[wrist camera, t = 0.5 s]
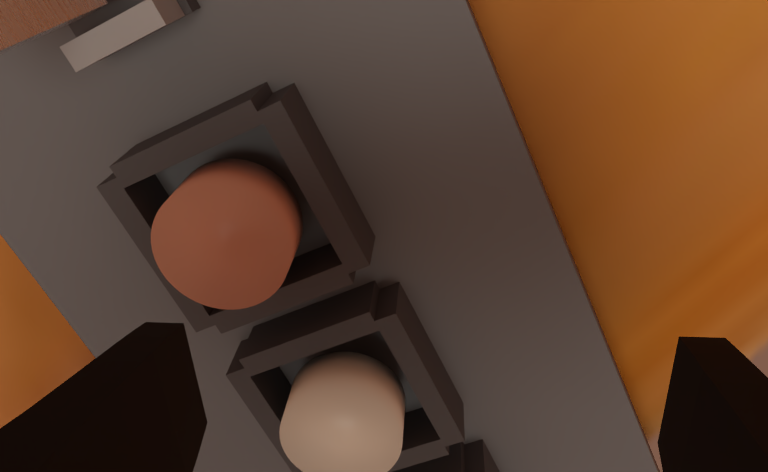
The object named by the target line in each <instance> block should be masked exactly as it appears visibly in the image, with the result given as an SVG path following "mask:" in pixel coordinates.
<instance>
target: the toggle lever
mask: <svg viewBox="0 0 768 472" xmlns="http://www.w3.org/2000/svg"><path fill="white" fill-rule="evenodd" d="M106 4H108V3H107V1H106V0H0V54H3V53H5V52H7V51H9V50H12V49H14V48H16V47H18V46H21V45H23V44H25V43H27V42H30V41H32V40H34V39H36V38H39V37H41V36H43V35H45V34H48V33H50V32H52V31H55V30H57V29H59V28H61V27H64V26H66V25H68V24H70V23H73V22H75V21H77V20H79V19H82V18H84V17H86V16H88V15H90V14H91V13H93V12H95V11H96V10H98V9H100V8H101V7H103V6H104V5H106Z"/></svg>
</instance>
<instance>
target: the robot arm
mask: <svg viewBox="0 0 768 472" xmlns="http://www.w3.org/2000/svg"><path fill="white" fill-rule="evenodd" d="M206 426H207V418H206V414H205V410H204V406H203V402H202V398H201V393H200V389H199V385H198V381H197V377H196V372H195V368H194V364H193V360H192V356H191V352H190V347H189V343H188V339H187V335H186V331H185V326H184V323H163V322H145V323H144V324H142V325H141V326H139V327H138V328H136V329H135V330H133V331H132V332H130V333H129V334H128V335H126V336H125V337H123V338H122V339H121V340H119V341H118V342H117V343H115V344H114V345H113V346H111V347H110V348H109V349H107V350H106V351H105V352H103V353H102V354H101V355H100V356H98V357H97V358H96V359H94V360H93V361H92V362H90V363H89V364H88V365H86V366H85V367H84V368H82V369H81V370H80V371H79V372H77V373H76V374H75V375H73V376H72V377H71V378H69V379H68V380H67V381H65V382H64V383H63V384H61V385H60V386H59V387H57V388H56V389H55V390H53V391H52V392H51V393H49V394H48V395H47V396H45V397H44V398H43V399H41V400H40V401H38V402H37V403H36V404H34V405H33V406H32V407H30V408H29V409H28V410H26V411H25V412H23V413H22V414H21V415H19V416H18V417H16V418H15V419H13V420H12V421H11V422H9V423H8V424H6V425H5V426H3V427H2V428H0V472H193V470H194V467H195V464H196V460H197V457H198V454H199V451H200V447H201V444H202V440H203V437H204V433H205V430H206ZM658 447H659V452H660V457H661V463H662V468H663V472H768V378H767V377H766V376H765V375H764V374H763V373H762V372H761V371H760V370H759V369H758V368H757V367H756V366H755V365H754V364H753V363H752V362H751V361H750V360H748V359H747V358H746V357H745V356H744V355H743V354H742V353H741V352H740V351H739V350H738V349H737V348H736V347H735V346H733V345H732V344H731V343H730V342H729V341H728V340H727V339H726V338H707V337H679V339H678V344H677V349H676V354H675V359H674V364H673V369H672V374H671V379H670V384H669V389H668V394H667V399H666V404H665V409H664V414H663V419H662V424H661V429H660V434H659V439H658Z"/></svg>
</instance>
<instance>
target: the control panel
mask: <svg viewBox="0 0 768 472" xmlns="http://www.w3.org/2000/svg"><path fill="white" fill-rule="evenodd" d="M106 1H107V3H108V4H106V5H104V6H103V7H101V8H100V9H98V10H96V11H95V12H93V13H91V14H90V15H88V16H86V17H84V18H82V19H79V20H77V21H75V22H73V23H70V24H68V25H66V26H64V27H61V28H59V29H57V30H55V31H52V32H50V33H48V34H45V35H43V36H41V37H39V38H36V39H34V40H32V41H30V42H27V43H25V44H23V45H21V46H18V47H16V48H14V49H12V50H9V51H7V52H5V53H3V54H0V234H1V236H2V237H3V238H4V239H5V241H6V242H7V243H8V245H9V246H10V247H11V248H12V250H13V251H14V252H15V254H16V255H17V256H18V258H19V259H20V260H21V261H22V263H23V264H24V265H25V267H26V268H27V269H28V271H29V272H30V273H31V274H32V276H33V277H34V278H35V280H36V281H37V282H38V284H39V285H40V286H41V287H42V289H43V290H44V291H45V293H46V294H47V295H48V297H49V298H50V299H51V300H52V302H53V303H54V304H55V306H56V307H57V308H58V310H59V311H60V312H61V313H62V315H63V316H64V317H65V319H66V320H67V321H68V323H69V324H70V325H71V326H72V328H73V329H74V330H75V332H76V333H77V334H78V336H79V337H80V338H81V339H82V341H83V342H84V343H85V345H86V346H87V347H88V349H89V350H90V351H91V352H92V354H93V355H94V356H95V358H97V357H98V356H100V355H101V354H102V353H103V352H105V351H106V350H107V349H109V348H110V347H111V346H113V345H114V344H115V343H117V342H118V341H119V340H121V339H122V338H123V337H125V336H126V335H128V334H129V333H130V332H132V331H133V330H135V329H136V328H138V327H139V326H141V325H142V324H144V323H145V322H163V323H184V326H185V331H186V335H187V339H188V343H189V347H190V352H191V356H192V360H193V364H194V368H195V372H196V377H197V381H198V385H199V389H200V393H201V398H202V402H203V406H204V410H205V414H206V418H207V426H206V430H205V433H204V437H203V440H202V444H201V447H200V451H199V454H198V457H197V460H196V464H195V467H194V470H193V472H302V471H301V470H300V469H299V468H297V467H296V466H295V465H294V464H293V463H292V462H291V461H290V459H289V458H288V457H287V455H286V454H285V452H284V450H283V448H282V445H281V442H280V435H279V430H280V424H281V420H282V417H283V414H284V410H285V407H286V404H287V401H288V397H289V394H290V391H291V388H292V384H293V381H294V379H295V377H296V375H297V373H298V372H299V370H300V369H301V368H302V367H303V366H304V365H305V364H307V363H308V362H309V361H311V360H313V359H314V358H316V357H319V356H321V355H324V354H327V353H333V352H355V353H360V354H364V355H367V356H370V357H372V358H374V359H376V360H378V361H380V362H382V363H383V364H385V365H386V366H387V367H388V368H389V369H391V370H392V371H393V372H394V374H395V375H396V376H397V377H398V379H399V380H400V382H401V384H402V386H403V389H404V392H405V399H406V401H405V417H404V430H403V443H402V450H401V454H400V456H399V459H398V460H397V462H396V463H395V465H394V466H393V467H392V468H391V469H390V470H389V471H388V472H660V471H659V469H658V466H657V464H656V461H655V459H654V456H653V454H652V451H651V449H650V446H649V444H648V442H647V439H646V437H645V434H644V432H643V429H642V427H641V424H640V422H639V419H638V417H637V414H636V412H635V410H634V407H633V405H632V402H631V400H630V397H629V395H628V392H627V390H626V387H625V385H624V383H623V380H622V378H621V375H620V373H619V370H618V368H617V365H616V363H615V360H614V358H613V355H612V353H611V351H610V348H609V346H608V343H607V341H606V338H605V336H604V333H603V331H602V328H601V326H600V324H599V321H598V319H597V316H596V314H595V311H594V309H593V306H592V304H591V301H590V299H589V297H588V294H587V292H586V289H585V287H584V284H583V282H582V279H581V277H580V274H579V272H578V269H577V267H576V265H575V262H574V260H573V257H572V255H571V252H570V250H569V247H568V245H567V242H566V240H565V238H564V235H563V233H562V230H561V228H560V225H559V223H558V220H557V218H556V215H555V213H554V210H553V208H552V206H551V203H550V201H549V198H548V196H547V193H546V191H545V188H544V186H543V183H542V181H541V179H540V176H539V174H538V171H537V169H536V166H535V164H534V161H533V159H532V156H531V154H530V152H529V149H528V147H527V144H526V142H525V139H524V137H523V134H522V132H521V129H520V127H519V124H518V122H517V120H516V117H515V115H514V112H513V110H512V107H511V105H510V102H509V100H508V97H507V95H506V93H505V90H504V88H503V85H502V83H501V80H500V78H499V75H498V73H497V70H496V68H495V65H494V63H493V61H492V58H491V56H490V53H489V51H488V48H487V46H486V43H485V41H484V38H483V36H482V34H481V31H480V29H479V26H478V24H477V21H476V19H475V16H474V14H473V11H472V9H471V7H470V4H469V2H468V0H106ZM228 158H231V159H242V160H248V161H251V162H254V163H257V164H259V165H262V166H264V167H266V168H267V169H269V170H271V171H272V172H274V173H275V174H277V175H278V176H279V177H280V178H281V179H282V180H283V181H284V182H285V183H286V184H287V185H288V186H289V187H290V189H291V190H292V192H293V193H294V195H295V196H296V199H297V201H298V203H299V205H300V208H301V212H302V217H303V232H302V237H301V241H300V244H299V246H298V249H297V251H296V253H295V256H294V258H293V261H292V263H291V266H290V268H289V271H288V273H287V275H286V278H285V280H284V282H283V283H282V285H281V287H280V288H279V289H278V290H277V291H276V292H275V293H274V294H273V295H272V296H271V297H270V298H268V299H266V300H265V301H263V302H261V303H259V304H257V305H255V306H252V307H248V308H243V309H235V310H227V309H218V308H212V307H209V306H205V305H202V304H200V303H197V302H195V301H193V300H191V299H190V298H188V297H186V296H185V295H183V294H182V293H180V292H179V291H178V290H177V289H176V288H174V287H173V286H172V285H171V284H170V283H169V282H168V280H167V279H166V278H165V276H164V275H163V274H162V272H161V271H160V269H159V267H158V265H157V263H156V261H155V259H154V255H153V252H152V246H151V229H152V224H153V221H154V218H155V216H156V214H157V212H158V210H159V209H160V207H161V206H162V205H163V203H164V202H165V201H166V200H167V199H168V198H169V197H170V196H171V195H172V193H173V192H174V191H175V190H176V189H177V188H178V187H179V186H180V184H181V183H182V182H183V181H184V180H185V179H186V178H187V177H188V176H189V175H190V174H191V173H192V172H193V171H194V170H195V169H197V168H198V167H200V166H202V165H204V164H206V163H209V162H211V161H215V160H219V159H228Z"/></svg>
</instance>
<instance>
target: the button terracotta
mask: <svg viewBox="0 0 768 472" xmlns="http://www.w3.org/2000/svg"><path fill="white" fill-rule="evenodd" d="M302 232H303V217H302V212H301V208H300V205H299V203H298V201H297V199H296V196H295V195H294V193H293V192H292V190H291V189H290V187H289V186H288V185H287V184H286V183H285V182H284V181H283V180H282V179H281V178H280V177H279V176H278V175H277V174H275V173H274V172H272V171H271V170H269V169H267V168H266V167H264V166H262V165H259V164H257V163H254V162H251V161H248V160H242V159H231V158H228V159H219V160H215V161H211V162H209V163H206V164H204V165H202V166H200V167H198V168H197V169H195V170H194V171H193V172H192V173H191V174H190V175H189V176H188V177H187V178H186V179H185V180H184V181H183V182H182V183H181V184H180V186H179V187H178V188H177V189H176V190H175V191H174V192H173V193H172V195H171V196H170V197H169V198H168V199H167V200H166V201H165V202H164V203H163V205H162V206H161V207H160V209H159V210H158V212H157V214H156V216H155V218H154V221H153V224H152V229H151V246H152V252H153V255H154V259H155V261H156V263H157V265H158V267H159V269H160V271H161V272H162V274H163V275H164V276H165V278H166V279H167V280H168V282H169V283H170V284H171V285H172V286H173V287H174V288H176V289H177V290H178V291H179V292H180V293H182V294H183V295H185V296H186V297H188V298H190V299H191V300H193V301H195V302H197V303H200V304H202V305H205V306H209V307H212V308H218V309H227V310H235V309H243V308H248V307H252V306H255V305H257V304H259V303H261V302H263V301H265V300H266V299H268V298H270V297H271V296H272V295H273V294H274V293H275V292H276V291H277V290H278V289H279V288H280V287H281V285H282V283H283V282H284V280H285V278H286V275H287V273H288V271H289V268H290V266H291V263H292V261H293V258H294V256H295V253H296V251H297V249H298V246H299V244H300V241H301V237H302Z"/></svg>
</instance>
